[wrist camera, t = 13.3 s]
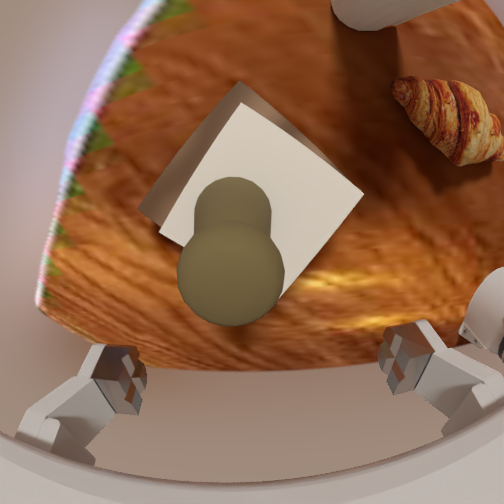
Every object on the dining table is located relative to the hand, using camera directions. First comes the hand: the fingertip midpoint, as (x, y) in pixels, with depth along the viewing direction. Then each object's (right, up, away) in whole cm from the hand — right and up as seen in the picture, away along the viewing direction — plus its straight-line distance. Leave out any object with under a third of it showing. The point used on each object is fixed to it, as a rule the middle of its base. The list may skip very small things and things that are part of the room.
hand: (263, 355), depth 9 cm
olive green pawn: (-2, +6, +14) cm, 15 cm away
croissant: (+23, +18, +19) cm, 35 cm away
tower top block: (0, +8, +17) cm, 19 cm away
